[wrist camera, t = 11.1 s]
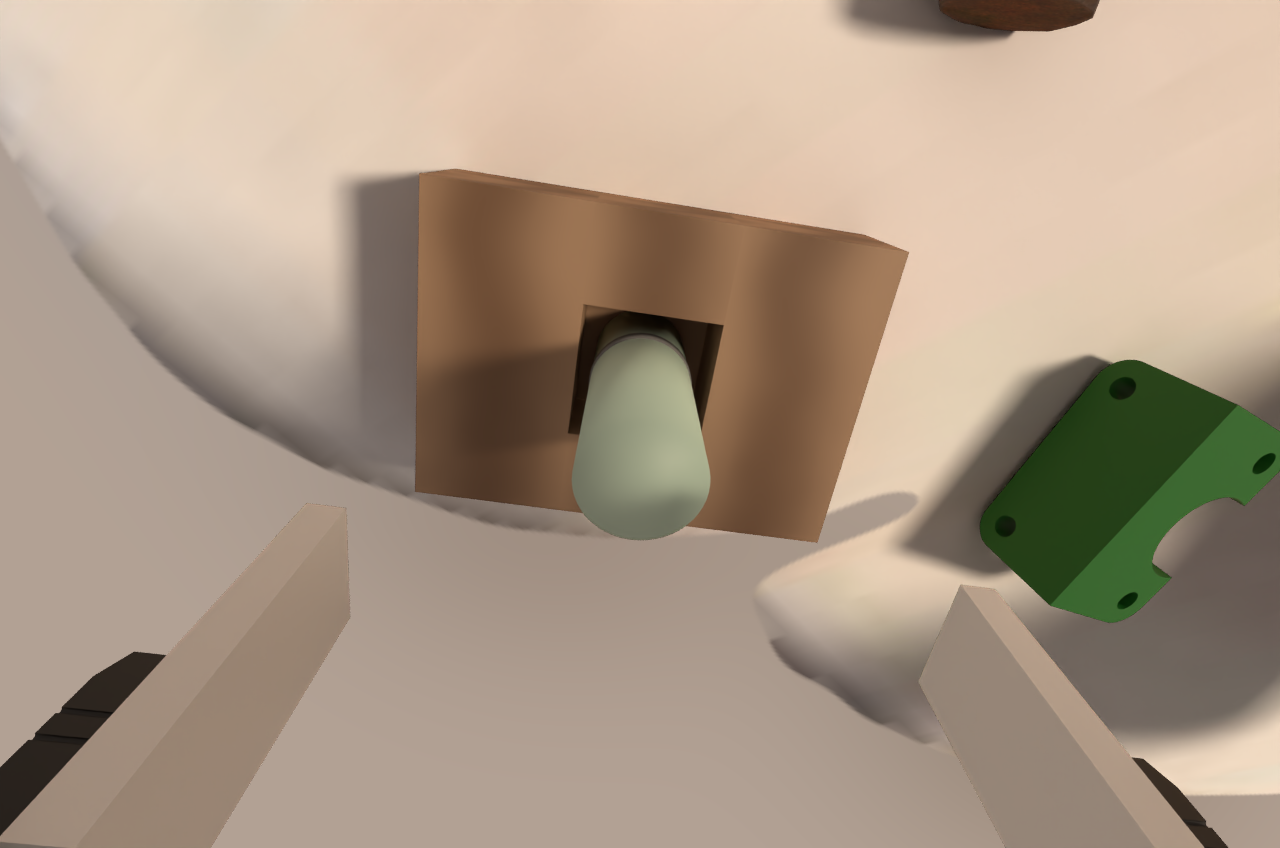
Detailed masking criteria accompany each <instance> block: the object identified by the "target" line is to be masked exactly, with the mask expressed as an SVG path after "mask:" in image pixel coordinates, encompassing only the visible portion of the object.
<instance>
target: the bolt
mask: <svg viewBox="0 0 1280 848" xmlns="http://www.w3.org/2000/svg"><path fill="white" fill-rule="evenodd" d="M1099 1H1100V0H939V6H940V11H941V12H943V13H944V14H946V15H948V16H949V17H951V18H952V19H955V20H957V21H960V22H962V23H965V24H971V25H976V26H980V27H983V28H989V29H999V30H1010V31H1053V30H1058V29H1062V28H1066V27H1070V26H1074V25H1077V24H1080V23H1082V22H1084V21H1087V20H1089V19H1091V18H1093V16H1094V14H1095V11H1096V9H1097V6H1098V4H1099Z"/></svg>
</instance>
